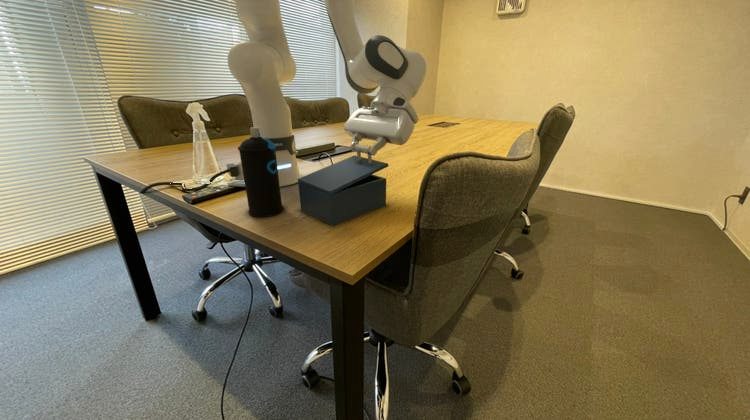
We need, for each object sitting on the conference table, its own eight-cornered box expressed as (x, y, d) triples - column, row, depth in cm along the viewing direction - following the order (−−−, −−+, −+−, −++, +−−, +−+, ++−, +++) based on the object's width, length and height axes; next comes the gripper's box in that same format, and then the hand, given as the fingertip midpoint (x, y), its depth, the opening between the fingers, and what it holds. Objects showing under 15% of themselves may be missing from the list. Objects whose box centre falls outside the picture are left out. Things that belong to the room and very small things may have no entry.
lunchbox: (353, 193, 87) (353, 168, 84) (385, 205, 79) (386, 178, 76) (300, 210, 75) (298, 182, 72) (332, 226, 67) (330, 195, 64)
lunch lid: (354, 157, 83) (352, 140, 81) (388, 166, 75) (386, 147, 73) (298, 181, 72) (293, 162, 70) (330, 194, 64) (326, 173, 62)
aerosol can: (246, 219, 70) (231, 131, 62) (249, 206, 77) (236, 125, 70) (283, 215, 72) (273, 129, 65) (283, 203, 80) (274, 124, 72)
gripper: (354, 98, 83) (328, 139, 80) (414, 101, 69) (385, 150, 67) (366, 113, 87) (342, 152, 85) (424, 119, 74) (397, 166, 72)
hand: (361, 152), depth 76 cm, fingers closed on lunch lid, 5 cm apart
